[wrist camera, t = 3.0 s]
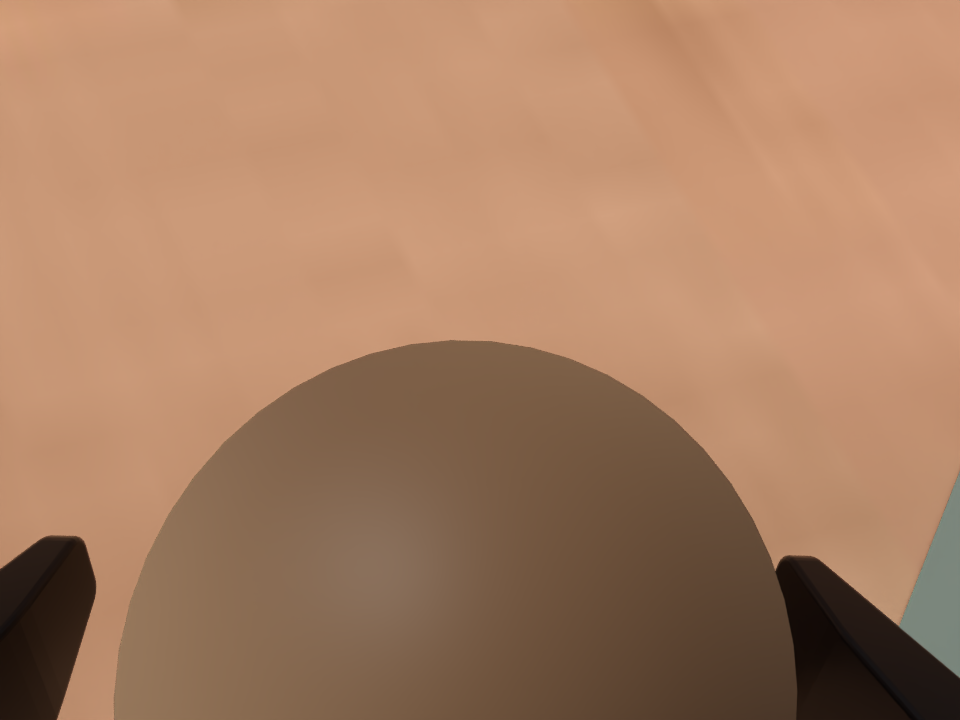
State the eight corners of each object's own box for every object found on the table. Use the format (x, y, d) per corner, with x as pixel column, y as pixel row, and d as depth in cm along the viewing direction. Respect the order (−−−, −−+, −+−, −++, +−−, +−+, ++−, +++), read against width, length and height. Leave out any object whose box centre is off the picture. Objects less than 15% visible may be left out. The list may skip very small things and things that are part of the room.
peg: (436, 713, 16) (499, 1266, 4) (290, 575, 17) (-44, 711, 4) (563, 557, 17) (919, 633, 5) (423, 431, 18) (445, 219, 5)
